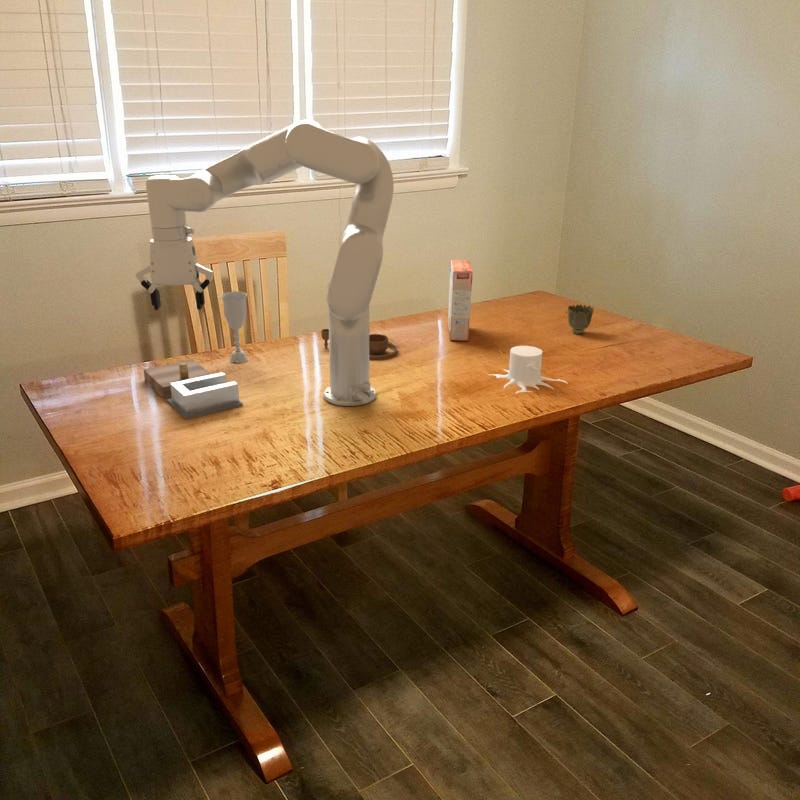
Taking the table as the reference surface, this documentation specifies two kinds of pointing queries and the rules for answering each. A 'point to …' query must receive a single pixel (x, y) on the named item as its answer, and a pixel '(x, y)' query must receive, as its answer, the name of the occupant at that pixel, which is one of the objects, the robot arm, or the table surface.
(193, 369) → the stand
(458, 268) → the cracker box
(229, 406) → the mat
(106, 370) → the table surface
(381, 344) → the place setting
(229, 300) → the chalice
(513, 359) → the tree stump
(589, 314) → the cup
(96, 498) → the table surface
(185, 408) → the c link
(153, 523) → the table surface
